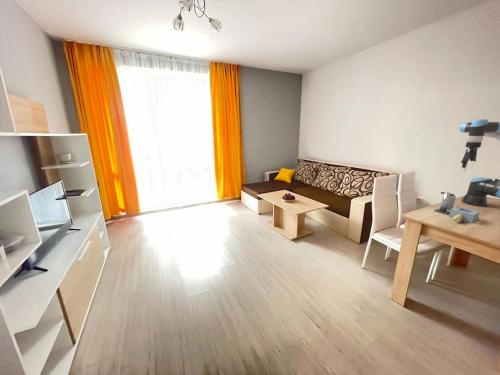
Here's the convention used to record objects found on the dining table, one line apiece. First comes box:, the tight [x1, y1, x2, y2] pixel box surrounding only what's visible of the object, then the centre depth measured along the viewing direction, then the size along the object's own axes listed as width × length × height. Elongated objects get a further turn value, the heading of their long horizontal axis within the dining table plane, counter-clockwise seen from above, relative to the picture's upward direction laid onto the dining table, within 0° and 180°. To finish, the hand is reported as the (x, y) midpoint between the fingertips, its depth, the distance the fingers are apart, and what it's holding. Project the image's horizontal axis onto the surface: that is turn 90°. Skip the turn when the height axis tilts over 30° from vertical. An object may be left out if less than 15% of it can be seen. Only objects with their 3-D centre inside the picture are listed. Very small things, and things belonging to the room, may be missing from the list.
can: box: [439, 194, 457, 211], centre depth 164 cm, size 8×8×12 cm
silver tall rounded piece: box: [439, 191, 455, 212], centre depth 156 cm, size 4×8×15 cm, turn 29°
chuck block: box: [448, 205, 481, 224], centre depth 145 cm, size 22×12×6 cm, turn 119°
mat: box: [433, 208, 450, 216], centre depth 158 cm, size 8×8×1 cm
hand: (465, 170), depth 152 cm, fingers open, 13 cm apart
